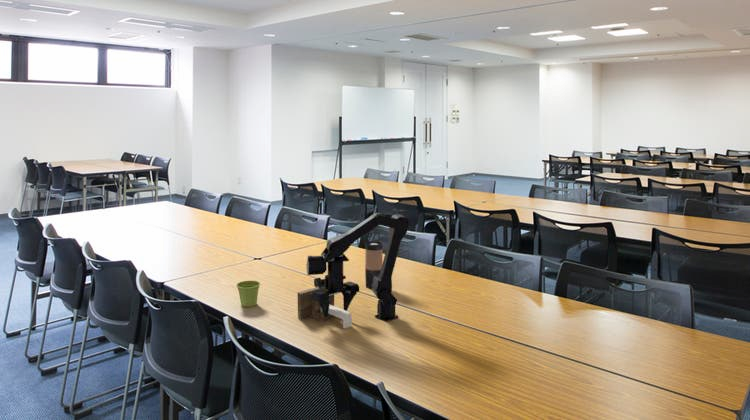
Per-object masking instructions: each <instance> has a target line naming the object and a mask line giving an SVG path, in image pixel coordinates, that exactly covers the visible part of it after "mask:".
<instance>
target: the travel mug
mask: <svg viewBox="0 0 750 420" xmlns="http://www.w3.org/2000/svg"><path fill="white" fill-rule="evenodd" d="M364 254H365V262H364V264H365V266H364V268H365V288H366V289H369V290H372V286H371V285H372V283H373V278H374V276H375V277H378V275H379V274H380V272H381V268H382V264H383V242H381V241H377V240H375V241H374V240H373V241H370V240H369V241H367V242H365V253H364Z"/></svg>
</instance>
